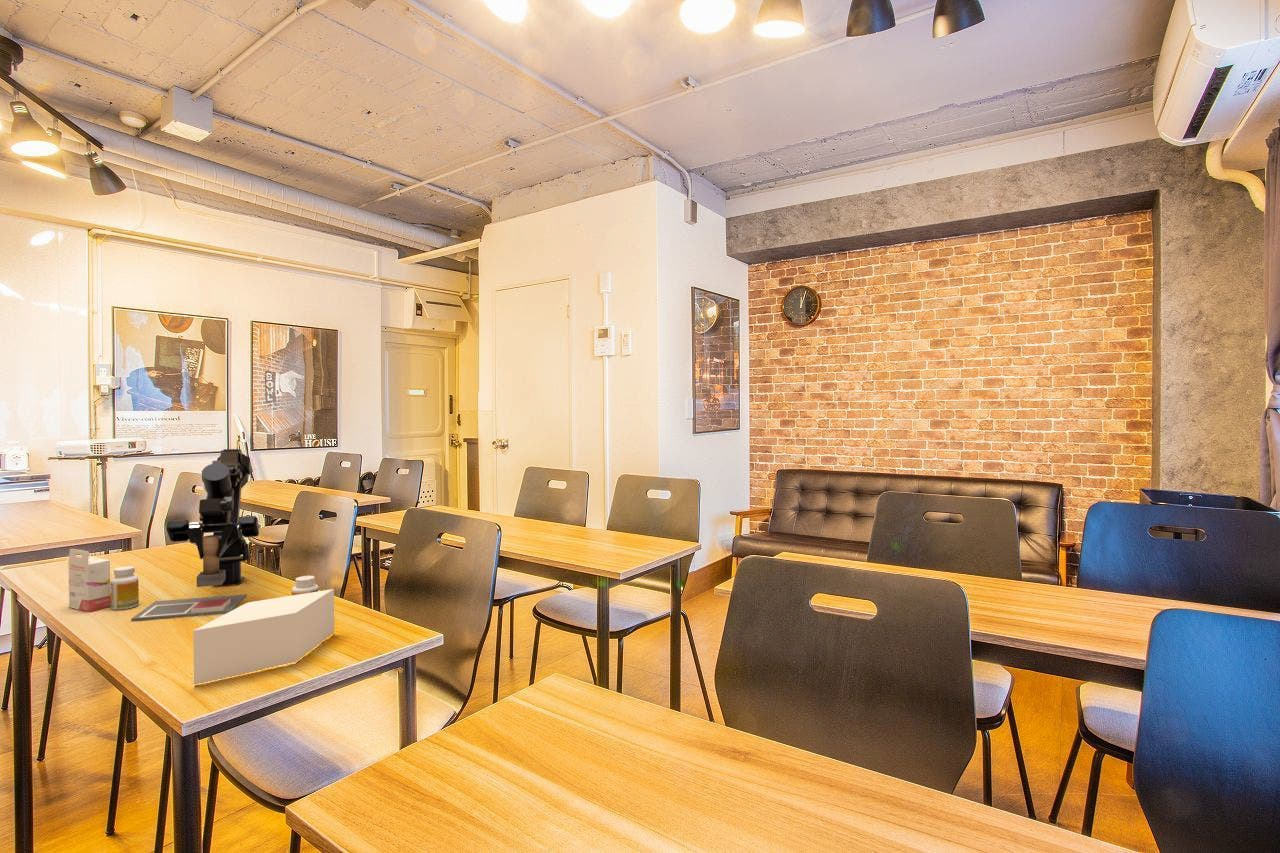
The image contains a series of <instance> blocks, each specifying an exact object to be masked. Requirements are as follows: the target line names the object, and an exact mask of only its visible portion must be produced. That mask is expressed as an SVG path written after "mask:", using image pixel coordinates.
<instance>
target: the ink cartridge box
mask: <svg viewBox="0 0 1280 853" xmlns="http://www.w3.org/2000/svg"><path fill="white" fill-rule="evenodd" d="M77 555H80V556H79V557H78V556H77ZM68 557H69V558H68V607H71V608H70V609H72V608H75V609H74V610H77V609H78V611H82V610H83V611H82V612H87V611H88V613H90V612H94V611H98V610H103V609H106V608H107V609H108V608H111V588H110V582H111V560H110V559H104V558H97V557H91V556H90V552H89V551H88V550H83V549H75V548H70V549H69V554H68Z"/></svg>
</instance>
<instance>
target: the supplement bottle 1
mask: <svg viewBox="0 0 1280 853" xmlns="http://www.w3.org/2000/svg"><path fill="white" fill-rule="evenodd" d="M135 569H136V568H135V566H134V565H133V566H132V565H130V566H120V567H116V568H114V569H113V575H114V576H115V577H112V578H110V593H111V607H110V609H111V610H112V611H121V610H123V609H124V610H130V609H132V608H133V609H134V608H136V607H137V606H139V604H140V600H139V599H140V597H139V595H140V594H139V593H140V592H139V591H140V590H139V577H138V575H136V574H135ZM129 608H130V609H129Z"/></svg>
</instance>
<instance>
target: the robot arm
mask: <svg viewBox="0 0 1280 853" xmlns="http://www.w3.org/2000/svg"><path fill="white" fill-rule="evenodd" d="M250 475H252V462H251V458H250V457H249V456H248V455H246V454H244V453H243V450H242V449H239V448H229V449H228V448H227V449H225V448H224V449H222V450H220V455H219V456H218V457H217V459H216V460H212V462H211V463H210V464H208V465H206V466H205V467H204V468H203V469H202V470H201V481H202V483H203V487H204V490H205V493H206V499H200V500H199V505H198V514H199V518H198V519H199V521H200V522H189V519H188V518H187V519H174V520H173V519H172V520H170V521H169V522H168V523H167V525H166V528H165V530H166V531H167V534H168V537H169V540H170V542H172V543H176V542H177V543H179V542H188V541H189V542H190V543H192V544H195V545H196V548H197V551H198V554H199V555H198V556H199V559H200V560H203V537H204V534H211V533H213V534H212V535H218V536H219V548H218V554H217V557H218V558H219V570H225V577H226V580H225V581H224V582H223V584H222V585H215V586H214V587H219V586H220V587H221V586H235V585H240V584H241V583H242V582H243V581H245V580H246V577H245V576H242V562H246V561H249V560H250V550H249V549H250V548H249V544H248V543H247V540H246V539H244V538H253V537H258V536H259V535H260V522H259V520H258V517H257V516H256V515H246V516H245V515H243V516H240V510H241V498H242V489H243V487H244V486H246V484H247V483H249V477H250Z"/></svg>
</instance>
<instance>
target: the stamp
mask: <svg viewBox="0 0 1280 853" xmlns="http://www.w3.org/2000/svg"><path fill="white" fill-rule="evenodd" d="M218 548H219V536H218V535H213V534H210V535H209V534H208V535H203V559H202V561H203V562H202V564H203V565H202V571H200V573H199V574H197V575H196V588H203V587H211V586H212V587H216V586H215V585H222V584H223V582H224V581H225V580H226V577H225V570H219V558H218V557H217V554H218Z"/></svg>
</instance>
